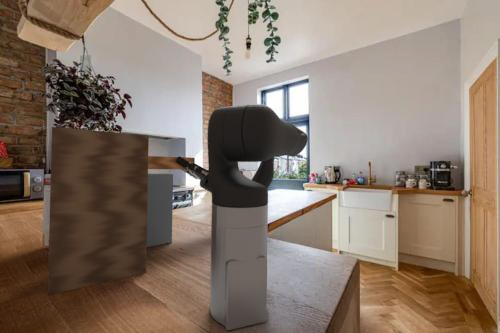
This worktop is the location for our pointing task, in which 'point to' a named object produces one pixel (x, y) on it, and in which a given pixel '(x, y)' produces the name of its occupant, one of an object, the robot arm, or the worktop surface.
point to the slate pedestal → (159, 209)
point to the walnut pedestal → (96, 207)
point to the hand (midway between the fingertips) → (175, 159)
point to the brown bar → (166, 162)
